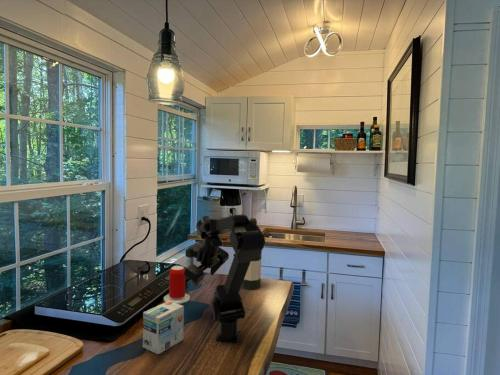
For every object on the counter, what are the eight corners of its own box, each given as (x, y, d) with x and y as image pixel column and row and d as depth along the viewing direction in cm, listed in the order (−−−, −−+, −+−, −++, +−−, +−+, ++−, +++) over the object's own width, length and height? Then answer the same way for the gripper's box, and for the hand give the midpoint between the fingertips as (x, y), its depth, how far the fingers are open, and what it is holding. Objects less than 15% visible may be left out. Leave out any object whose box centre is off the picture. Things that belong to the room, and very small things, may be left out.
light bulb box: (158, 355, 99) (158, 318, 98) (141, 347, 103) (141, 312, 102) (184, 339, 108) (184, 305, 107) (168, 333, 112) (168, 300, 111)
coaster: (184, 305, 132) (184, 303, 132) (159, 302, 134) (159, 301, 134) (193, 295, 142) (193, 293, 142) (169, 292, 144) (169, 291, 144)
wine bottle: (260, 290, 150) (262, 220, 147) (240, 289, 150) (242, 219, 147) (260, 283, 158) (262, 217, 155) (241, 282, 158) (243, 216, 155)
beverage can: (183, 293, 142) (184, 264, 141) (186, 299, 136) (186, 269, 135) (168, 295, 140) (168, 265, 139) (169, 301, 134) (170, 270, 133)
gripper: (210, 227, 135) (203, 258, 142) (175, 247, 120) (170, 281, 128) (233, 241, 130) (225, 272, 138) (199, 265, 116) (192, 298, 123)
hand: (203, 280), depth 132 cm, fingers open, 9 cm apart
